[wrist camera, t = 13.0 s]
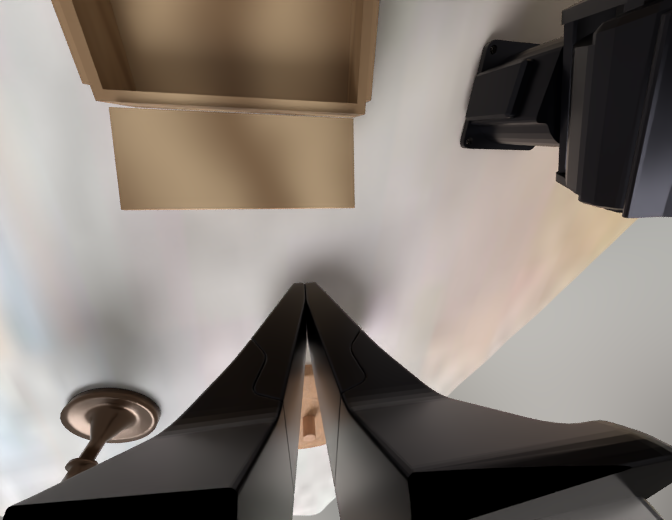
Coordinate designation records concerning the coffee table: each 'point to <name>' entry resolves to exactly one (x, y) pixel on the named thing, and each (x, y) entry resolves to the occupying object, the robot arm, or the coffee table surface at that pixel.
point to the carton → (226, 53)
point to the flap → (231, 160)
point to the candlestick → (107, 421)
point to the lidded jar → (310, 411)
